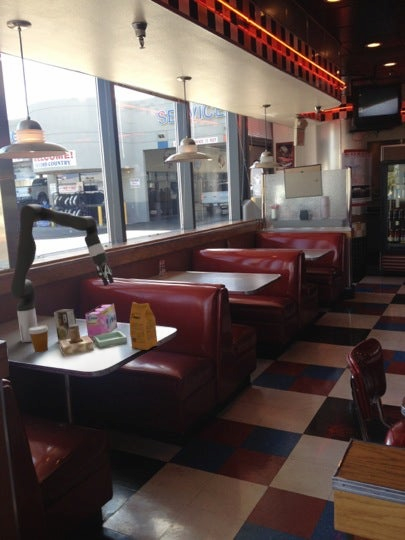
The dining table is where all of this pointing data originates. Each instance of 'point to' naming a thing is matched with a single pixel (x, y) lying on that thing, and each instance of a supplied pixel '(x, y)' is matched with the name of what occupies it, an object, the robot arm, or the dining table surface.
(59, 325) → the coffee box
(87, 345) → the wooden square frame
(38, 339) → the disposable coffee cup
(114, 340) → the tray
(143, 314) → the coffee package
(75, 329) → the pin
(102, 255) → the robot arm
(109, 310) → the gum box
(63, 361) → the dining table surface
